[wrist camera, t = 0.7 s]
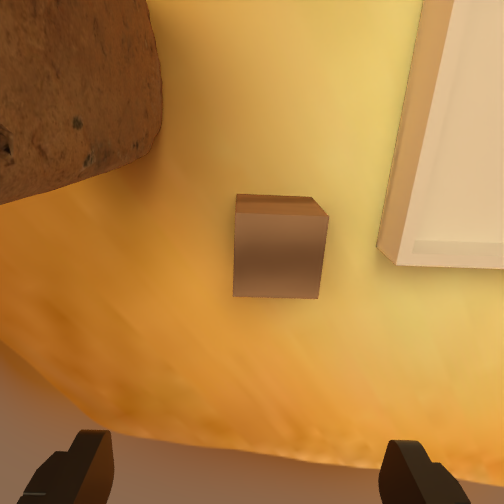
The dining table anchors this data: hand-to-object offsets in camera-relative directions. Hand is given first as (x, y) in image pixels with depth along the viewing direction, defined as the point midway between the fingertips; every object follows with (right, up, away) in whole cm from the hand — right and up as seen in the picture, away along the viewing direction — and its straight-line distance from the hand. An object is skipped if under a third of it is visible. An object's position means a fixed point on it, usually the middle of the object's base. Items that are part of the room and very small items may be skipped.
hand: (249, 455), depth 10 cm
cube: (+2, +8, +18) cm, 20 cm away
